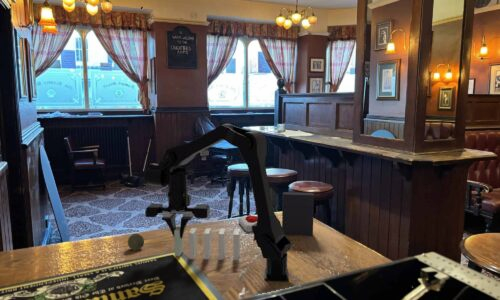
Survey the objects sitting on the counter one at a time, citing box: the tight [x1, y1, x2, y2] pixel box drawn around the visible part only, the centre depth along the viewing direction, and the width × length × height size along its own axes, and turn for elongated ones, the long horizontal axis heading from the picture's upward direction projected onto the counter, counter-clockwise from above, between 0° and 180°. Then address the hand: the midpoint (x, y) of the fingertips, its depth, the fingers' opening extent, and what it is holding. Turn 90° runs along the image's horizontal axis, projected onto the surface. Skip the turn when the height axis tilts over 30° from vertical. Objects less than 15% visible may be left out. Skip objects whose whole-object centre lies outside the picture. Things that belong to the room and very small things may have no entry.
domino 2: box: [188, 227, 198, 260], centre depth 117 cm, size 5×2×8 cm, turn 177°
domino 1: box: [173, 224, 185, 257], centre depth 118 cm, size 5×2×8 cm, turn 177°
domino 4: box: [217, 228, 227, 261], centre depth 117 cm, size 5×2×8 cm, turn 177°
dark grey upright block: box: [281, 191, 315, 237], centre depth 137 cm, size 11×4×15 cm, turn 84°
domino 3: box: [203, 227, 212, 260], centre depth 117 cm, size 5×2×8 cm, turn 177°
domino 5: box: [232, 228, 241, 261], centre depth 116 cm, size 5×2×8 cm, turn 177°
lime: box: [127, 233, 145, 251], centre depth 122 cm, size 4×5×5 cm
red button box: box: [238, 215, 258, 233], centre depth 146 cm, size 12×4×10 cm
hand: (178, 237), depth 117 cm, fingers closed on domino 1, 2 cm apart
